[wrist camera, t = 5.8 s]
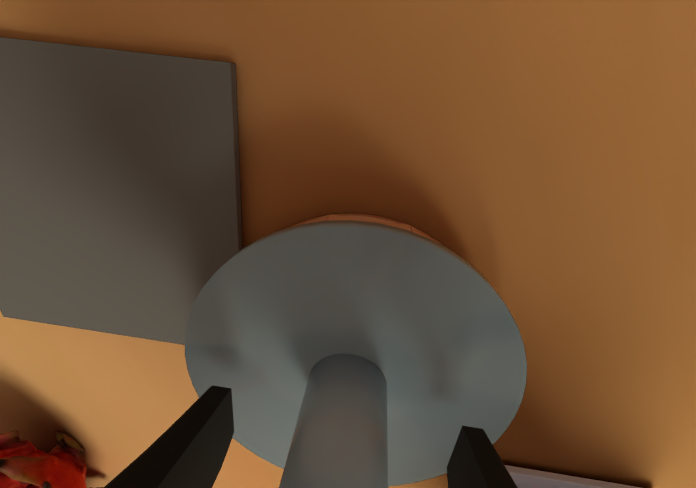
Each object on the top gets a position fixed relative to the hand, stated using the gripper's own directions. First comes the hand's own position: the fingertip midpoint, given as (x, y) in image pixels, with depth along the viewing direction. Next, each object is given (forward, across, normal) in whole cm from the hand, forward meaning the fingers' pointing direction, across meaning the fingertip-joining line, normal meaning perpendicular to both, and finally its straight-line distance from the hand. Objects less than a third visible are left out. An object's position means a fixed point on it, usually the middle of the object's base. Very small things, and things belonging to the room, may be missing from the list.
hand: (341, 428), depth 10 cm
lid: (+2, 0, 0) cm, 2 cm away
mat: (+5, +11, -4) cm, 13 cm away
